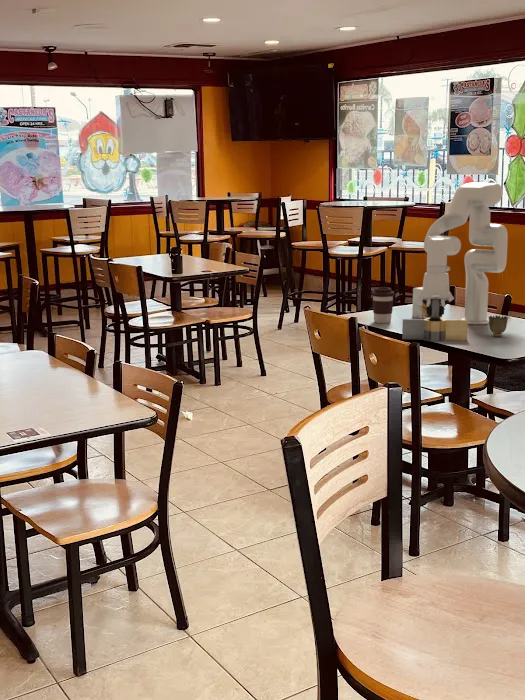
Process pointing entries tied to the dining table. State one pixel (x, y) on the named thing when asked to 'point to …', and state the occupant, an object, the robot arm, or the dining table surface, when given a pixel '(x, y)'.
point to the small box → (418, 304)
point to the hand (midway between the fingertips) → (435, 315)
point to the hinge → (434, 329)
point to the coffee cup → (382, 304)
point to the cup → (497, 325)
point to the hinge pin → (435, 308)
